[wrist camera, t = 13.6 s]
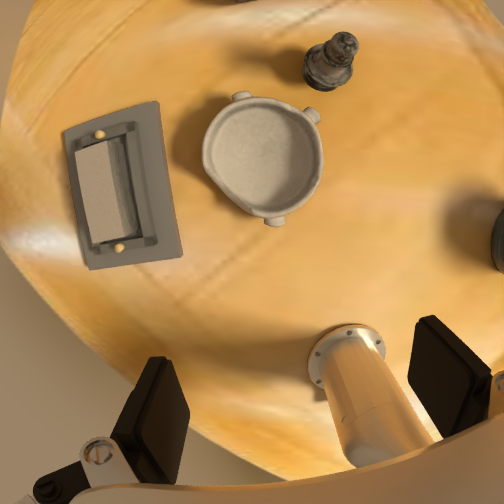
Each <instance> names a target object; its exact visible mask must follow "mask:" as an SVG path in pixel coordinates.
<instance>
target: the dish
mask: <svg viewBox="0 0 504 504" xmlns="http://www.w3.org/2000/svg"><path fill="white" fill-rule="evenodd" d="M232 99H233V102H232V103H230V104H229V105H227V106H225V107H224V108H223V109H222V110H220V111H219V112H218V113H217V115H216V116H215V117H214V118H213V120H212V121H211V123H210V124H209V126H208V128H207V130H206V133H205V135H204V138H203V142H202V149H201V156H202V163H203V168H204V170H205V172H206V174H208V175H209V177H210V178H211V179H212V180H213V181H214V182H215V184H216V185H217V186H218V187H219V188H220V189H221V190H222V191H223V192H224V193H225V195H226V196H228V197H229V198H230V199H231V200H232V201H233V202H234V203H235V204H237V205H238V206H239V207H240V208H242V209H243V210H245V211H246V212H247V213H249V214H251V215H253V216H256V217H260V218H264V223H265V224H266V225H268V226H272V227H280V226H283V225H285V223H286V220H285V215H287V214H289V213H291V212H293V211H295V210H296V209H298V208H299V207H301V206H302V205H303V204H304V203H305V202H307V201H308V199H309V198H310V197H311V196H312V195H313V193H314V192H315V190H316V188H317V187H318V185H319V182H320V180H321V176H322V172H323V164H324V158H323V147H322V142H321V138H320V135H319V132H318V129H317V127H316V125H315V124H317V123H319V122H320V120H321V118H320V115H319V113H318V112H317V111H316V110H315V109H313V108H312V107H307V108H305V110H304V111H301V110H299V109H297V108H295V107H293V106H291V105H289V104H287V103H285V102H283V101H280V100H276V99H273V98H268V97H253V96H252V95H251V93H250V92H249V91H240V92H237V93H235V94H233V95H232Z"/></svg>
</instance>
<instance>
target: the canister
mask: <svg viewBox="0 0 504 504" xmlns="http://www.w3.org/2000/svg"><path fill="white" fill-rule="evenodd" d="M491 253H492V259H493V262H494V264H495V266H496V267H497V269H499V270H500V271H501V272H502V273H503V274H504V210H503V211H502V212H501V214H500V215H499V217H498V219H497V221H496V224H495V227H494V230H493V234H492V241H491Z"/></svg>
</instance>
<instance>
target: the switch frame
mask: <svg viewBox="0 0 504 504" xmlns="http://www.w3.org/2000/svg"><path fill="white" fill-rule="evenodd" d="M64 135H65V146H66V155H67V163H68V171H69V178H70V184H71V190H72V196H73V202H74V207H75V213H76V218H77V222H78V227H79V232H80V236H81V240H82V245H83V249H84V253H85V257H86V260H87V264H88V268H89V270H96V269H103V268H110V267H117V266H124V265H131V264H138V263H145V262H152V261H159V260H166V259H174V258H181V256H182V255H183V251H182V246H181V241H180V236H179V230H178V225H177V220H176V214H175V209H174V203H173V197H172V192H171V186H170V179H169V173H168V167H167V160H166V153H165V146H164V139H163V131H162V124H161V116H160V107H159V103H158V102H157V101H152V102H148V103H145V104H141V105H138V106H134V107H131V108H127V109H124V110H121V111H118V112H115V113H112V114H108V115H106V116H103V117H100V118H97V119H94V120H91V121H88V122H86V123H83V124H80V125H78V126H75V127H73V128H70V129H68V130H65V131H64ZM104 141H112V142H119V143H124V145H125V152H126V158H127V164H128V170H129V175H130V181H131V186H132V191H133V196H134V201H135V206H136V211H137V215H138V220H139V224H140V228H139V229H138V230H136V231H134V232H132V233H131V234H129V235H127V236H125V237H121V238H117V239H112V240H107V241H103V242H98V243H94V244H93V243H92V239H91V235H90V231H89V226H88V222H87V218H86V213H85V208H84V204H83V199H82V194H81V188H80V183H79V177H78V171H77V165H76V158H75V152H76V151H79V150H82V149H84V148H87V147H90V146H93V145H95V144H98V143H101V142H104Z"/></svg>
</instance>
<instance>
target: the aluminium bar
mask: <svg viewBox="0 0 504 504" xmlns="http://www.w3.org/2000/svg"><path fill="white" fill-rule="evenodd" d="M75 158H76V165H77V171H78V177H79V183H80V188H81V194H82V199H83V204H84V208H85V213H86V218H87V222H88V226H89V231H90V235H91V239H92V243H93V244H94V243H98V242H103V241H107V240H112V239H117V238H121V237H125V236H127V235H129V234H131V233H132V232H134V231H136V230H138V229H139V228H140V224H139V220H138V215H137V211H136V206H135V201H134V196H133V191H132V186H131V181H130V175H129V170H128V164H127V158H126V152H125V145H124V143H119V142H112V141H104V142H101V143H98V144H95V145H93V146H90V147H87V148H84V149H82V150H79V151H76V152H75Z"/></svg>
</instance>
